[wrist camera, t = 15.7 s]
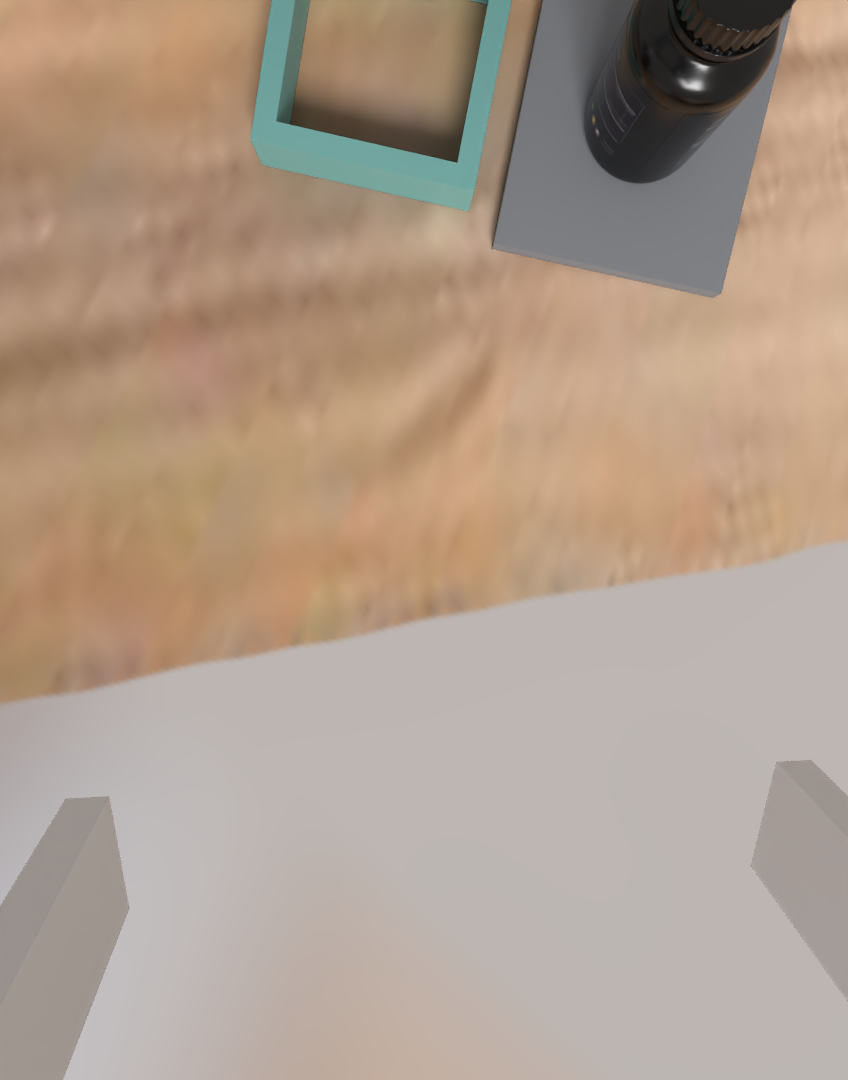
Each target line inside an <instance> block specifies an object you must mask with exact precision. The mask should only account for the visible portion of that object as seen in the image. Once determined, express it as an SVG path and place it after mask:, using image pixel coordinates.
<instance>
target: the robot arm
mask: <svg viewBox="0 0 848 1080" xmlns="http://www.w3.org/2000/svg"><path fill="white" fill-rule="evenodd" d="M751 867H752V868H753V870H755V872H756V874H757V875H758V877H759V878H760V879H761V881H762V882H763V884H764V885H765V886H766V888H767V889H768V891H769V892H770V893H771V895H772V896H773V897H774V899H775V900H776V902H777V903H778V904H779V906H780V907H781V909H782V910H783V912H784V913H785V914H786V916H787V917H788V919H789V920H790V921H791V923H792V924H793V926H794V927H795V928H796V930H797V931H798V932H799V934H800V935H801V937H802V938H803V939H804V941H805V942H806V943H807V945H808V946H809V948H810V949H811V951H812V952H813V954H814V955H815V956H816V958H817V959H818V960H819V962H820V963H821V965H822V966H823V967H824V969H825V970H826V971H827V973H828V974H829V976H830V977H831V979H832V980H833V981H834V983H835V984H836V986H837V987H838V988H839V990H840V991H841V993H842V994H843V995H844V997H845V998H846V999H847V1001H848V796H847V795H846V794H845V793H844V792H843V791H842V790H841V789H840V788H839V787H838V786H837V785H836V784H835V783H834V782H833V781H832V780H831V779H829V777H828V776H827V775H826V774H825V773H824V772H823V771H822V770H821V769H820V768H818V767H817V765H816V764H814V763H813V762H812V761H811V760H805V761H786V762H776V765H775V769H774V773H773V777H772V782H771V786H770V789H769V794H768V798H767V802H766V806H765V810H764V814H763V818H762V822H761V826H760V830H759V834H758V838H757V842H756V847H755V850H754V854H753V858H752V863H751ZM128 910H129V904H128V899H127V893H126V887H125V882H124V876H123V871H122V865H121V860H120V854H119V848H118V843H117V837H116V832H115V826H114V821H113V815H112V809H111V804H110V798H109V797H91V798H73V799H72V798H71V799H65V801H64V803H63V804H62V806H61V807H60V809H59V811H58V812H57V814H56V816H55V817H54V819H53V820H52V822H51V824H50V825H49V827H48V829H47V831H46V832H45V834H44V835H43V837H42V839H41V840H40V842H39V844H38V845H37V847H36V848H35V850H34V852H33V853H32V855H31V857H30V858H29V860H28V862H27V863H26V865H25V867H24V868H23V870H22V871H21V873H20V875H19V876H18V878H17V880H16V881H15V883H14V885H13V886H12V888H11V890H10V891H9V893H8V894H7V896H6V898H5V900H4V901H3V903H2V904H1V906H0V1080H63V1078H64V1075H65V1073H66V1070H67V1068H68V1065H69V1063H70V1060H71V1057H72V1055H73V1052H74V1050H75V1047H76V1045H77V1042H78V1039H79V1037H80V1034H81V1031H82V1029H83V1027H84V1024H85V1021H86V1019H87V1016H88V1014H89V1011H90V1008H91V1006H92V1003H93V1001H94V998H95V995H96V993H97V990H98V988H99V985H100V983H101V980H102V978H103V975H104V972H105V970H106V967H107V965H108V962H109V959H110V957H111V954H112V952H113V949H114V946H115V944H116V941H117V939H118V936H119V934H120V931H121V929H122V926H123V923H124V921H125V918H126V915H127V913H128Z"/></svg>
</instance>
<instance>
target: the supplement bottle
mask: <svg viewBox="0 0 848 1080" xmlns="http://www.w3.org/2000/svg"><path fill="white" fill-rule="evenodd" d="M795 2H796V0H635V1H634V3H633V5H632V7H631V9H630V11H629V13H628V15H627V17H626V19H625V21H624V23H623V26H622V28H621V30H620V32H619V34H618V36H617V38H616V40H615V42H614V44H613V46H612V48H611V51H610V53H609V55H608V57H607V59H606V61H605V63H604V65H603V67H602V69H601V71H600V73H599V76H598V78H597V80H596V82H595V84H594V87H593V89H592V91H591V93H590V96H589V99H588V102H587V105H586V109H585V117H584V129H585V136H586V141H587V144H588V147H589V149H590V152H591V153H592V155H593V157H594V159H595V160H596V162H597V163H598V164H599V165H600V166H601V167H602V168H603V169H604V170H605V171H606V172H607V173H609V174H610V175H612V176H613V177H615V178H617V179H619V180H622V181H624V182H628V183H634V184H645V183H652V182H655V181H659V180H661V179H664V178H666V177H668V176H669V175H671V174H673V173H674V172H675V171H677V170H678V169H679V168H680V167H681V166H682V165H683V164H685V163H686V161H687V160H688V159H689V158H690V157H691V156H692V155H693V154H694V153H695V152H696V151H697V150H698V149H699V148H700V147H701V145H702V144H703V143H704V142H705V141H706V140H707V139H708V138H709V137H710V136H711V135H712V133H713V132H714V131H715V130H716V129H717V128H718V127H719V126H720V125H721V124H722V123H723V121H724V120H725V119H726V118H727V117H728V116H729V115H730V114H731V113H732V112H733V111H734V109H735V108H736V107H737V106H738V105H739V104H740V103H741V102H742V101H743V100H744V99H745V97H746V96H747V95H748V94H749V93H750V92H751V91H752V90H753V88H754V87H755V86H756V85H757V84H758V82H759V81H760V80H761V78H762V77H763V75H764V74H765V72H766V71H767V69H768V67H769V65H770V63H771V61H772V59H773V57H774V54H775V51H776V48H777V44H778V41H779V35H780V28H781V21H782V20H783V19H784V17H785V16H786V15H787V14H788V13H789V11H790V9H791V7H792V6H793V4H794V3H795Z"/></svg>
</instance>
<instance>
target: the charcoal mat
mask: <svg viewBox="0 0 848 1080" xmlns="http://www.w3.org/2000/svg"><path fill="white" fill-rule="evenodd" d="M634 1H635V0H542V2H541V7H540V12H539V17H538V22H537V27H536V32H535V37H534V42H533V47H532V52H531V57H530V62H529V67H528V72H527V77H526V82H525V87H524V92H523V96H522V101H521V106H520V111H519V116H518V121H517V126H516V131H515V136H514V141H513V146H512V151H511V156H510V161H509V166H508V171H507V176H506V181H505V186H504V190H503V195H502V200H501V205H500V210H499V215H498V220H497V225H496V230H495V235H494V240H493V245H492V249H495V250H500V251H504V252H509V253H513V254H518V255H522V256H527V257H531V258H536V259H540V260H545V261H549V262H554V263H558V264H563V265H567V266H572V267H577V268H581V269H586V270H590V271H595V272H599V273H604V274H608V275H613V276H617V277H622V278H626V279H631V280H635V281H640V282H644V283H649V284H653V285H658V286H662V287H667V288H671V289H676V290H681V291H685V292H690V293H694V294H699V295H703V296H708V297H712V298H713V297H715V296H717V295H719V294H721V292H722V288H723V284H724V280H725V276H726V272H727V268H728V264H729V260H730V256H731V252H732V248H733V244H734V240H735V236H736V232H737V227H738V223H739V219H740V215H741V211H742V207H743V203H744V199H745V195H746V191H747V187H748V183H749V179H750V175H751V171H752V167H753V163H754V159H755V155H756V151H757V147H758V143H759V139H760V135H761V131H762V127H763V123H764V118H765V114H766V110H767V106H768V102H769V98H770V94H771V90H772V86H773V82H774V78H775V74H776V70H777V66H778V62H779V58H780V54H781V50H782V46H783V42H784V38H785V34H786V30H787V26H788V22H789V18H790V14H791V9H792V7H791V9H790V11H789V13H788V14H787V15H786V16H785V17H784V19H783V20H782V21H781V28H780V35H779V41H778V44H777V48H776V51H775V54H774V57H773V59H772V61H771V63H770V65H769V67H768V69H767V71H766V72H765V74H764V75H763V77H762V78H761V80H760V81H759V82H758V84H757V85H756V86H755V87H754V88H753V90H752V91H751V92H750V93H749V94H748V95H747V96H746V97H745V99H744V100H743V101H742V102H741V103H740V104H739V105H738V106H737V107H736V108H735V109H734V111H733V112H732V113H731V114H730V115H729V116H728V117H727V118H726V119H725V120H724V121H723V123H722V124H721V125H720V126H719V127H718V128H717V129H716V130H715V131H714V132H713V133H712V135H711V136H710V137H709V138H708V139H707V140H706V141H705V142H704V143H703V144H702V145H701V147H700V148H699V149H698V150H697V151H696V152H695V153H694V154H693V155H692V156H691V157H690V158H689V159H688V160H687V161H686V163H685V164H683V165H682V166H681V167H680V168H679V169H678V170H677V171H675V172H674V173H673V174H671V175H669V176H668V177H666V178H664V179H661V180H659V181H655V182H652V183H645V184H634V183H628V182H624V181H622V180H619V179H617V178H615V177H613V176H612V175H610V174H609V173H607V172H606V171H605V170H604V169H603V168H602V167H601V166H600V165H599V164H598V163H597V162H596V160H595V159H594V157H593V155H592V153H591V152H590V149H589V147H588V144H587V141H586V136H585V129H584V117H585V109H586V105H587V102H588V99H589V96H590V93H591V91H592V89H593V87H594V84H595V82H596V80H597V78H598V76H599V73H600V71H601V69H602V67H603V65H604V63H605V61H606V59H607V57H608V55H609V53H610V51H611V48H612V46H613V44H614V42H615V40H616V38H617V36H618V34H619V32H620V30H621V28H622V26H623V23H624V21H625V19H626V17H627V15H628V13H629V11H630V9H631V7H632V5H633V3H634Z"/></svg>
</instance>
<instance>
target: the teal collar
mask: <svg viewBox="0 0 848 1080" xmlns="http://www.w3.org/2000/svg"><path fill="white" fill-rule="evenodd" d="M470 1H474V2H478V3H482V4H486V5H488V6H487V11H486V17H485V22H484V27H483V32H482V37H481V43H480V48H479V53H478V58H477V63H476V69H475V74H474V79H473V84H472V89H471V95H470V100H469V105H468V110H467V115H466V120H465V126H464V131H463V136H462V141H461V146H460V152H459V157H458V162H457V163H456V162H452V161H447V160H443V159H439V158H434V157H430V156H425V155H421V154H417V153H412V152H408V151H404V150H399V149H395V148H390V147H386V146H382V145H377V144H373V143H369V142H364V141H360V140H355V139H351V138H347V137H342V136H338V135H334V134H329V133H325V132H320V131H316V130H312V129H307V128H303V127H298V126H294V125H290V122H291V116H292V109H293V103H294V97H295V91H296V84H297V78H298V72H299V66H300V59H301V53H302V47H303V41H304V34H305V28H306V22H307V16H308V9H309V3H310V0H272V1H271V8H270V14H269V21H268V27H267V34H266V40H265V47H264V53H263V60H262V66H261V73H260V80H259V86H258V93H257V99H256V106H255V112H254V119H253V125H252V132H251V138H250V140H251V142H252V144H253V146H254V148H255V151H256V153H257V155H258V157H259V159H260V161H261V163H262V165H264V166H269V167H273V168H278V169H282V170H287V171H291V172H296V173H300V174H305V175H309V176H313V177H318V178H322V179H327V180H331V181H336V182H340V183H345V184H349V185H354V186H358V187H363V188H367V189H371V190H376V191H380V192H385V193H389V194H394V195H398V196H403V197H407V198H412V199H416V200H421V201H425V202H429V203H434V204H438V205H443V206H447V207H452V208H456V209H461V210H465V211H469V208H470V204H471V201H472V197H473V193H474V189H475V184H476V179H477V174H478V169H479V164H480V159H481V154H482V148H483V143H484V138H485V133H486V128H487V123H488V118H489V113H490V108H491V103H492V98H493V92H494V87H495V82H496V77H497V72H498V67H499V62H500V57H501V52H502V47H503V42H504V37H505V31H506V26H507V21H508V16H509V11H510V6H511V1H512V0H470Z"/></svg>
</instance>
